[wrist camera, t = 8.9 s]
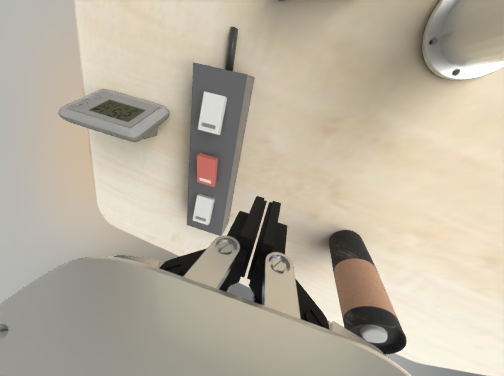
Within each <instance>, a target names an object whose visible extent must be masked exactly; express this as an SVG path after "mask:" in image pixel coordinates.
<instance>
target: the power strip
mask: <svg viewBox="0 0 504 376" xmlns="http://www.w3.org/2000/svg"><path fill="white" fill-rule="evenodd" d="M237 33H238V29H237V28H235V27H231V28H230V37H229V46H228V55H227V64H226V70H224V69H220V68H215V67H211V66H207V65H202V64H198V63H193V86H192V111H191V136H190V162H189V187H188V212H187V225H189V226H192V227H195V228H198V229H201V230H204V231H207V232H210V233H213V234H216V235H219V236H221V235H222V234H223V232H224V230H225V228H226V226H227V225H228V221H229V216H230V210H231V205H232V199H233V193H234V188H235V182H236V177H237V171H238V166H239V160H240V154H241V149H242V143H243V138H244V132H245V127H246V121H247V115H248V110H249V104H250V99H251V93H252V88H253V82H254V77H252V76H249V75H246V74H242V73H237V72H233V64H234V57H235V49H236V41H237ZM204 91H205V92H209V93H213V94H217V95H221V96H225V97H226V98H227V103H226V108H225V113H224V117H223V122H222V127H221V132H220V135H217V134H213V133H210V132H206V131H202V130H199V129H198V124H199V118H200V113H201V107H202V101H203V95H204ZM199 153H202V154H206V155H209V156H213V157H216V158H218V165H217V178H216V185H215V186H214V187H211V186H208V185H205V184H202V183H198V182H197V155H198V154H199ZM198 194H202V195H205V196H208V197H212V198H215V200H214V205H213V210H212V215H211V219H210V223H209V224H208V225H206V224H202V223H199V222H196V221H193V215H194V209H195V204H196V198H197V195H198Z"/></svg>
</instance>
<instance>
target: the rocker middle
mask: <svg viewBox="0 0 504 376" xmlns="http://www.w3.org/2000/svg"><path fill="white" fill-rule="evenodd" d="M217 165H218V158H216V157H213V156H209V155H206V154H202V153H199V154H198V155H197V182H198V183H202V184H205V185H208V186H211V187H214V186H215V185H216V178H217Z"/></svg>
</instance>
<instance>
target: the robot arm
mask: <svg viewBox="0 0 504 376" xmlns="http://www.w3.org/2000/svg"><path fill="white" fill-rule="evenodd" d="M429 41H431V44H429ZM422 53H423V57H424V61H425V63H426V64H427V66H428V68H429V69H430V70H431V71H432V72H433V73H434V74H436V75H438V76H439V77H441V78H445V79H449V80H468V79H473V78H478V77H482V76H484V75H487V74H490V73H492V72H494V71H496V70H498V69H500V68H502V67H504V0H440V1H439V3H438V4H437V6H436V7H435V9H434V10H433V12H432V14H431V16H430V18H429V20H428V22H427V25H426V28H425V31H424V36H423V42H422ZM452 72H453V74H452ZM266 202H267V201H264V198H262V197H258V196H256V199H255V201H254V203H253V206H252V208H251V210H250V213H249V214H248V213H245V212H242V211H240V212H239V213H238V215H237V217H236V219H235V221H234V223H233V225H232V227H231V229H230V231H229V233H228V235H227V236H220V237H218V238H216V239H215V240H214V241H213V242H212V243H211V245H210V246H209V247H208V248H207V249H204V250H200V251H197V252H194V253H190V254H187V255H184V256H180V257H177V258H174V259H171V260H168V261H166V262H161V260H159V259H150V258H142V257H134V256H125V255H117V256H114V257H108V256H100V257H85V258H79V259H75V260H72V261H69V262H67V263H64V264H62V265H60V266H58V267H57V268H55V269H53V270H51V271H49V272H48V273H46V274H44V275H43V276H42V277H40V278H38V279H36V280H35V281H33V282H32V283H30V284H29V285H27V286H26V287H24V288H23V289H21V290H20V291H18V292H17V293H15V294H14V295H13V296H11V297H10V298H8V299H7V300H5V301H4V302H2V303H1V304H0V376H411V375H410V374H409V373H408V372H407V371H406V370H404V369H403V368H402V367H400V366H399V365H397V364H396V363H395V362H394V361H392V360H391V359H389V358H387V357H386V356H385V355H384V354H383V352H382V351H381V350H379V349H378V348H377V347H376V346H374V345H372V344H371V343H369V342H367V341H366V340H364V339H362V338H361V337H359V336H357V335H356V334H354V333H352V332H351V331H349V330H347V329H346V328H344V327H342V326H341V325H339V324H337V323H336V322H334V321H333V322H332V323H331V322H329V321H328V320H327V318H326V317H325V315H324V314H323V312H322V311H321V310H320V309H319V307H318V306H317V305H316V304H315V302H314V301H313V300H312V299H311V297H310V296H309V295H308V294H307V292H306V291H305V290H304V289H303V287H302V286H301V285H300V284H299V282H298V281H297V280H296V279H295V274H294V267H293V263H292V261H291V260H290V259H289V258H288V257H287V256H286V255H285V246H286V235H287V225H284V224H281V223H278V217H279V212H280V206H281V203H279V202H275V201H273V202H272V203H271V202H269V205H268V208H267V212H266V215H265V218H264V222H263V225H262V228H261V232H260V235H259V238H258V242H257V245H256V249H255V252H254V256H253V259H252V263H251V266H250V270H249V273H248V277H247V279H250V284H249V286H250V288H251V290H252V291H253V293H254V294H253V298H252V299H253V300H252V301H249V300H247V299H244V298H241V297H238V296H235V295H233V294H230V293H228V292H229V290H230V287H231V285H233V284H235V283H237V282H239V280H240V277H244V276H245V273H246V270H247V267H248V263H249V260H250V257H251V253H252V250H253V247H254V243H255V240H256V237H257V233H258V230H259V227H260V223H261V220H262V216H263V213H264V209H265V206H266Z"/></svg>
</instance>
